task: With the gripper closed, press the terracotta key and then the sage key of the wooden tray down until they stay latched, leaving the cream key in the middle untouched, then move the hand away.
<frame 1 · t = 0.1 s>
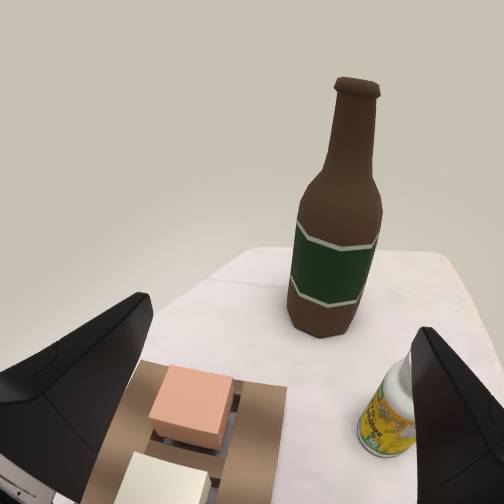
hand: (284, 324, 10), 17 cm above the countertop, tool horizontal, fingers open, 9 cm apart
cream key: (164, 499, 13), point 4 cm above the countertop, slide at 0.0 cm
terracotta key: (194, 408, 19), point 5 cm above the countertop, slide at 0.0 cm
beer bottle: (320, 315, 34), on the countertop
supplement bottle: (384, 432, 21), on the countertop
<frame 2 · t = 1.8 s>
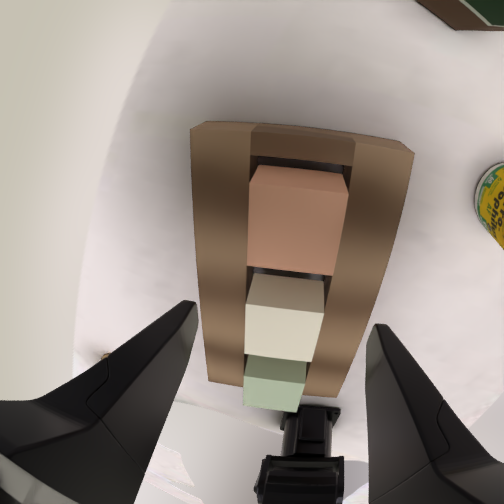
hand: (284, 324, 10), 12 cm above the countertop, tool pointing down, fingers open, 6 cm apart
sage key: (274, 380, 23), point 4 cm above the countertop, slide at 0.0 cm
wooden tray: (288, 277, 23), on the countertop
cream key: (283, 318, 20), point 4 cm above the countertop, slide at 0.0 cm
terracotta key: (295, 218, 16), point 4 cm above the countertop, slide at 0.0 cm
supplement bottle: (499, 194, 17), on the countertop
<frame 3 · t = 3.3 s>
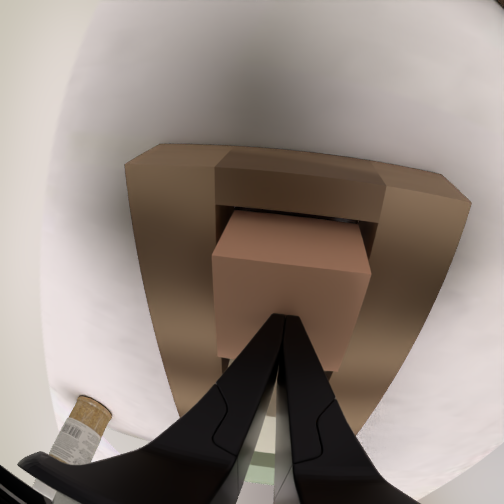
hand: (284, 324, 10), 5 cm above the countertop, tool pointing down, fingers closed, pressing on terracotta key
sage key: (261, 456, 18), point 5 cm above the countertop, slide at 0.0 cm
wooden tray: (279, 344, 18), on the countertop
cream key: (270, 410, 14), point 5 cm above the countertop, slide at 0.0 cm
sprinkles bottle: (96, 405, 29), on the countertop
terracotta key: (287, 292, 11), point 4 cm above the countertop, slide at 0.8 cm, touching gripper
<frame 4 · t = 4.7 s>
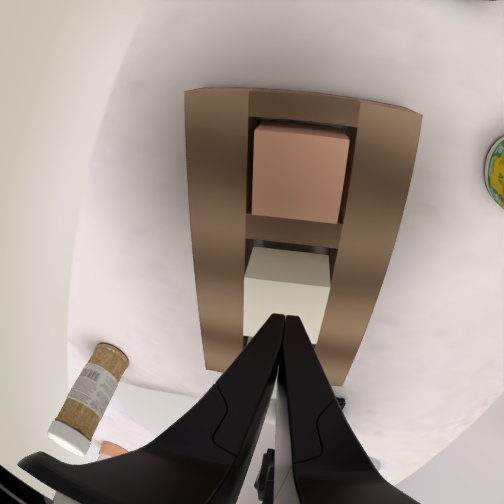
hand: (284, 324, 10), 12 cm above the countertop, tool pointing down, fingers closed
sage key: (275, 367, 22), point 4 cm above the countertop, slide at 0.0 cm
wooden tray: (290, 254, 22), on the countertop
cream key: (285, 296, 18), point 4 cm above the countertop, slide at 0.0 cm
sprinkles bottle: (114, 353, 34), on the countertop
terracotta key: (299, 169, 16), point 3 cm above the countertop, slide at 1.9 cm
pepper shaker: (117, 447, 59), on the countertop
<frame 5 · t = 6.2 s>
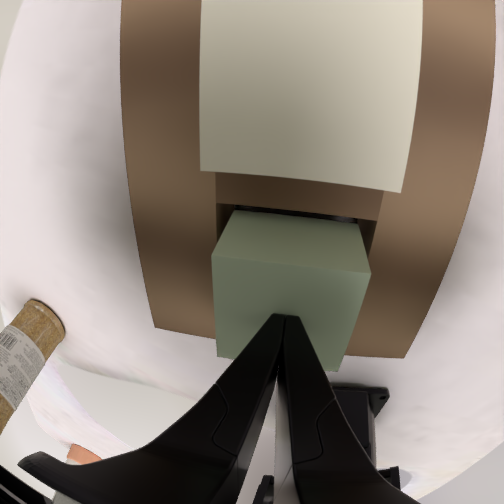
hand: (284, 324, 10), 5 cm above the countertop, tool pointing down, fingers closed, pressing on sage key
sage key: (287, 292, 11), point 4 cm above the countertop, slide at 0.6 cm, touching gripper
wooden tray: (308, 76, 10), on the countertop
cream key: (309, 76, 7), point 4 cm above the countertop, slide at 0.0 cm
sprinkles bottle: (47, 317, 22), on the countertop
pepper shaker: (88, 452, 47), on the countertop
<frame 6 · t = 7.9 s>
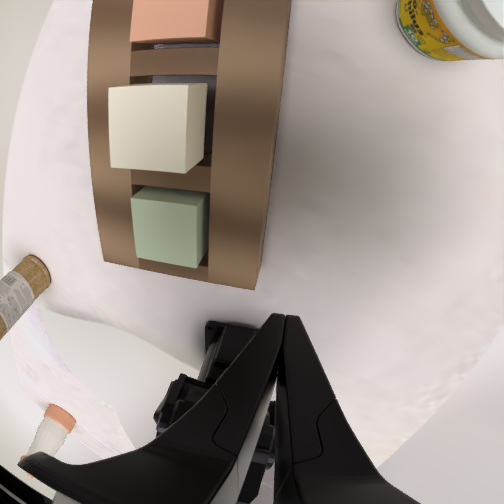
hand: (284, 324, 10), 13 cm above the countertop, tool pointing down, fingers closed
sage key: (172, 223, 21), point 3 cm above the countertop, slide at 1.9 cm
wooden tray: (187, 113, 19), on the countertop
cream key: (157, 123, 15), point 4 cm above the countertop, slide at 0.0 cm
sprinkles bottle: (39, 269, 30), on the countertop
terracotta key: (179, 6, 13), point 3 cm above the countertop, slide at 1.9 cm
pepper shaker: (63, 412, 55), on the countertop
supplement bottle: (431, 23, 13), on the countertop
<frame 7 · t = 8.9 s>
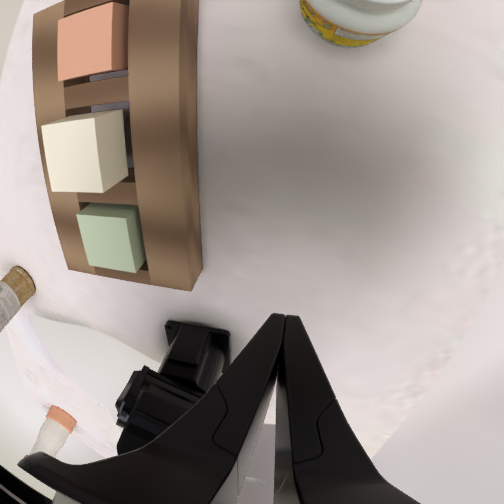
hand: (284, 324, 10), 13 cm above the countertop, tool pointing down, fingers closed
sage key: (115, 233, 22), point 3 cm above the countertop, slide at 1.9 cm
wooden tray: (120, 134, 20), on the countertop
cream key: (84, 150, 17), point 4 cm above the countertop, slide at 0.0 cm
sprinkles bottle: (25, 279, 32), on the countertop
terracotta key: (96, 42, 14), point 3 cm above the countertop, slide at 1.9 cm
pepper shaker: (64, 413, 57), on the countertop
supplement bottle: (343, 9, 14), on the countertop
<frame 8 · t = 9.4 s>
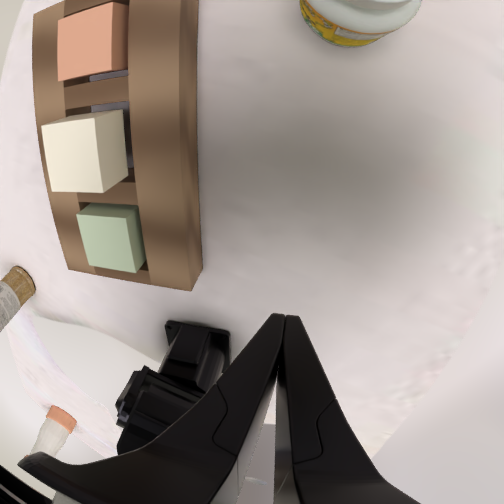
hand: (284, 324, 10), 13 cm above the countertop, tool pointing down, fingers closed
sage key: (115, 233, 22), point 3 cm above the countertop, slide at 1.9 cm
wooden tray: (120, 134, 20), on the countertop
cream key: (84, 150, 17), point 4 cm above the countertop, slide at 0.0 cm
sprinkles bottle: (25, 279, 32), on the countertop
terracotta key: (96, 42, 14), point 3 cm above the countertop, slide at 1.9 cm
pepper shaker: (64, 413, 57), on the countertop
supplement bottle: (343, 9, 14), on the countertop
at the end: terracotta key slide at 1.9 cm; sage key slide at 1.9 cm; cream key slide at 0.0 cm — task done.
